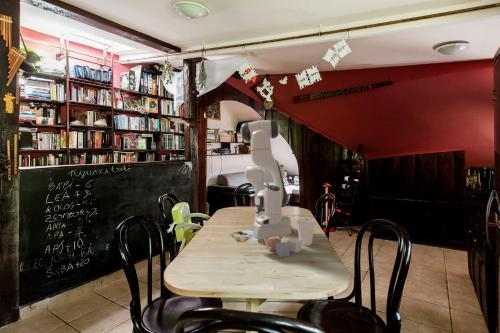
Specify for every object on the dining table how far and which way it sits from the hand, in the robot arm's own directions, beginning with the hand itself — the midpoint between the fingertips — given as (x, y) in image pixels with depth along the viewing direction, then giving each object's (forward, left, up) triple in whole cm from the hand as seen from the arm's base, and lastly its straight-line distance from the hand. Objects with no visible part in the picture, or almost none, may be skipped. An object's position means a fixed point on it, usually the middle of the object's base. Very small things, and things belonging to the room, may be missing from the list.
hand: (273, 244), depth 148 cm
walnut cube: (0, -9, -2) cm, 9 cm away
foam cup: (-19, +2, -2) cm, 19 cm away
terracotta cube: (0, 0, -2) cm, 2 cm away
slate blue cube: (0, +9, -2) cm, 9 cm away
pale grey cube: (-8, +7, -2) cm, 11 cm away
